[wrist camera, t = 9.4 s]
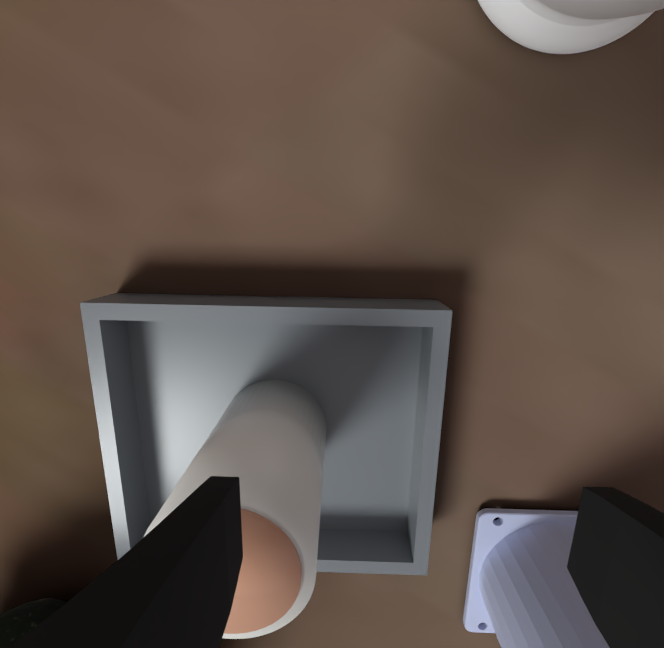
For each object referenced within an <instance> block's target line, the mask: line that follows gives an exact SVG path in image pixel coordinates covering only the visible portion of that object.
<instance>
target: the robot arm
mask: <svg viewBox="0 0 664 648" xmlns="http://www.w3.org/2000/svg"><path fill="white" fill-rule="evenodd" d="M497 517H499V519H497V520H494V519H495V518H497ZM242 560H243V545H242V524H241V503H240V483H239V477H224V476H210V477H209V478H208V479H207V480H206V481H205V482H204V483H203V484H201V485H200V486H199V487H198V488H197V489H196V490H195V491H194V492H193V493H192V494H190V495H189V496H188V497H187V498H186V499H185V500H184V501H183V502H182V503H181V504H180V505H179V506H177V507H176V508H175V509H174V510H173V511H172V512H171V513H170V514H169V515H168V516H167V517H166V518H164V519H163V520H162V521H161V522H160V523H159V524H158V525H157V526H156V527H155V528H154V529H152V530H151V531H150V532H149V533H148V534H147V535H146V536H145V537H143V538H142V539H141V540H140V541H139V542H138V543H137V544H136V545H134V546H133V547H132V548H131V549H130V550H129V551H128V552H127V553H125V554H124V555H123V556H122V557H121V558H120V559H119V560H117V561H116V562H115V563H114V564H113V565H111V566H110V567H109V568H108V569H107V570H105V571H104V572H103V573H102V574H101V575H99V576H98V577H97V578H96V579H94V580H93V581H92V582H91V583H90V584H88V585H87V586H86V587H85V588H84V589H82V590H81V591H80V592H79V593H78V594H76V595H75V596H74V597H73V598H72V599H70V600H69V601H68V602H67V603H66V604H64V605H63V606H62V607H60V608H59V609H58V610H57V611H55V612H54V613H53V614H51V615H50V616H49V617H48V618H46V619H45V620H44V621H42V622H41V623H40V624H38V625H37V626H36V627H35V628H33V629H32V630H31V631H29V632H28V633H27V634H25V635H24V636H23V637H21V638H20V639H19V640H17V641H16V642H14V643H13V644H12V645H10V646H9V647H8V648H219V646H220V643H221V640H222V637H223V634H224V631H225V628H226V625H227V622H228V618H229V615H230V612H231V608H232V604H233V599H234V595H235V591H236V587H237V582H238V578H239V573H240V569H241V564H242ZM463 623H464V626H465V628H466V630H468V631H470V632H482V633H496V635H497V638H498V641H499V643H500V646H501V648H664V514H663V513H661V512H660V511H658V510H656V509H654V508H652V507H650V506H649V505H647V504H645V503H643V502H641V501H639V500H637V499H635V498H633V497H631V496H629V495H628V494H625V493H623V492H621V491H619V490H617V489H615V488H608V487H583V491H582V496H581V501H580V506H579V510H578V511H562V510H528V509H494V508H485V509H482V510H480V511H479V512H478V513H477V516H476V523H475V530H474V538H473V546H472V553H471V561H470V569H469V577H468V584H467V592H466V600H465V607H464V615H463Z"/></svg>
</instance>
